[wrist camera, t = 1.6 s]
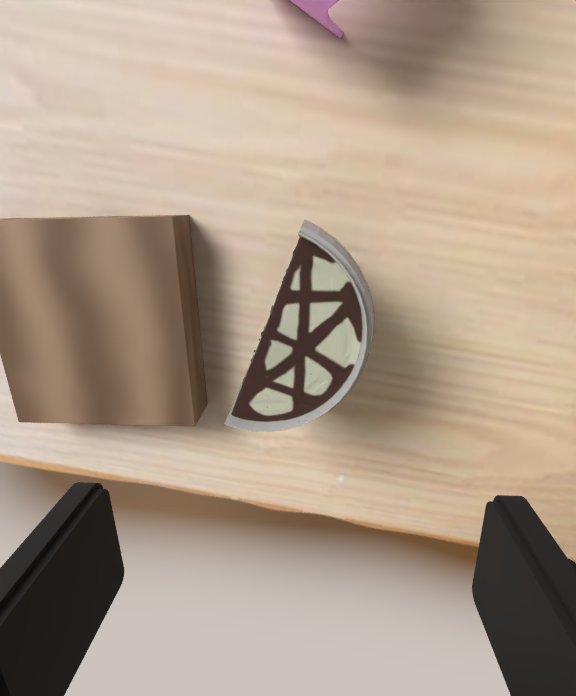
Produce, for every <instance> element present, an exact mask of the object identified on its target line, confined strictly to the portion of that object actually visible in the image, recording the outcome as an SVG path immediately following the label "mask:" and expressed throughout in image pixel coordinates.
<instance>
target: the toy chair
mask: <svg viewBox="0 0 576 696" xmlns="http://www.w3.org/2000/svg"><path fill="white" fill-rule="evenodd" d="M290 1H291V2H292V3H294V4H295V5H296V6H298V7H299V8H300V9H302V10H303V11H304V12H306V13H307V14H308V15H310V16H311V17H312V18H314V19H315V20H316V21H318V22H319V23H320V24H322V25H323V26H324V27H326V28H327V29H328V30H330V31H331V32H332V33H334V34H335V35H336V36H338V37H339V38H341V37H342V35H343V33H344V32H343V31H342V30H341V29H340V28H339V27H338V26H337V25H336V24H335V23H334V22H333V21H332V20H331V19H330V17H329V15H328V9H329V8H330V7H331V6H333V5H334V4H335V3H336V2H337V1H339V0H290Z"/></svg>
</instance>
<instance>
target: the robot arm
mask: <svg viewBox="0 0 576 696" xmlns="http://www.w3.org/2000/svg"><path fill="white" fill-rule="evenodd" d="M123 577H124V566H123V561H122V556H121V551H120V546H119V541H118V536H117V531H116V526H115V521H114V517H113V511H112V506H111V501H110V496H109V492H108V490H106V489H103V486H102V485H101V484H99V483H80V482H78V483H75V484H74V485H73V486H72V487H71V488H70V489H69V490H68V491H67V492H66V494H65V495H64V496H63V497H62V498H61V499H60V500H59V501H58V503H57V504H56V505H55V506H54V507H53V509H52V510H51V511H50V512H49V513H48V514H47V515H46V517H45V518H44V519H43V520H42V521H41V522H40V523H39V525H38V526H37V527H36V528H35V529H34V530H33V531H32V533H31V534H30V535H29V536H28V537H27V538H26V539H25V540H24V542H23V543H22V544H21V545H20V546H19V548H18V549H17V550H16V551H15V552H14V553H13V554H12V556H11V557H10V558H9V559H8V560H7V561H6V562H5V563H4V565H3V566H2V567H1V568H0V696H64V695H65V693H66V690H67V689H68V687H69V685H70V683H71V681H72V679H73V677H74V675H75V673H76V671H77V670H78V668H79V666H80V664H81V662H82V660H83V658H84V656H85V654H86V652H87V650H88V648H89V646H90V644H91V642H92V640H93V639H94V637H95V635H96V633H97V631H98V629H99V627H100V625H101V623H102V621H103V619H104V617H105V615H106V613H107V611H108V610H109V608H110V606H111V604H112V602H113V600H114V598H115V596H116V594H117V592H118V590H119V588H120V586H121V584H122V581H123ZM472 592H473V598H474V602H475V605H476V607H477V610H478V612H479V615H480V618H481V620H482V623H483V625H484V628H485V630H486V633H487V636H488V638H489V641H490V643H491V646H492V648H493V651H494V653H495V656H496V659H497V661H498V664H499V666H500V669H501V671H502V674H503V677H504V679H505V681H506V684H507V687H508V689H509V692H510V694H511V696H576V563H575V562H573V561H572V560H570V559H568V558H567V557H566V556H565V554H564V553H563V551H562V550H561V548H560V547H559V546H558V544H557V543H556V541H555V540H554V538H553V537H552V536H551V534H550V533H549V531H548V530H547V528H546V527H545V526H544V524H543V523H542V521H541V520H540V518H539V517H538V516H537V514H536V513H535V511H534V510H533V508H532V507H531V506H530V504H529V503H528V501H527V500H526V499H525V498H524V497H522V496H502V495H498V496H496V497H495V498H494V501H493V502H488V503H487V505H486V509H485V515H484V521H483V527H482V532H481V538H480V544H479V550H478V556H477V561H476V567H475V573H474V579H473V585H472Z"/></svg>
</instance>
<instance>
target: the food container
mask: <svg viewBox="0 0 576 696" xmlns="http://www.w3.org/2000/svg"><path fill="white" fill-rule="evenodd" d="M298 235H299V237H300V238H299V240H298V244H297V246H296V248H295V250H294V252H293V256H292V259H291V262H290V264H289V267H288V269H287V270H286V274H285V276H284V278H283V281H282V284H281V287H280V290H279V293H278V295H277V298H276V300H275V303H274V305H273V306H272V309H271V311H270V316H269V318H268V321H267V323H266V325H265V327H264V330H263V332H262V333H261V338H260V339H259V343H258V346H257V349H256V350H255V351H254V352H255V354H254V355H253V358H252V359H251V363H250V366H249V368H248V370H247V373H246V375H245V377H244V379H243V382H242V384H241V386H240V389H239V391H238V393H237V396H236V398H235V400H234V403H233V405H232V407H231V410H230V412H229V414H228V416H227V419H226V421H225V423H224V425H227V426H230V427H233V428H237V429H241V430H247V431H254V432H272V431H281V430H287V429H291V428H294V427H298V426H301V425H303V424H306V423H308V422H310V421H313V420H315V419H316V418H318V417H320V416H321V415H323V414H324V413H326V412H327V411H329V410H330V409H332V408H333V407H334V406H335V405H336V404H338V403H339V402H340V401H341V400H342V399H343V398H344V397H345V396H346V395H347V393H348V392H349V391H350V390H351V389H352V388H353V386H354V384H355V383H356V381H357V379H358V378H359V376H360V375H361V372H362V370H363V367H364V365H365V362H366V360H367V357H368V354H369V351H370V347H371V342H372V338H373V329H374V313H373V305H372V299H371V295H370V292H369V288H368V285H367V282H366V280H365V278H364V276H363V274H362V272H361V270H360V268H359V266H358V265H357V263H356V262H355V261H354V259H353V258H352V256H351V255H350V253H349V252H348V251H347V250H346V249H345V248H344V247H343V246H342V245H341V244H340V243H339V242H338V241H337V240H336V239H335V238H334V237H332V236H331V235H330V234H328V233H327V232H326V231H324V230H323V229H322V228H320V227H318V226H316V225H315V224H313V223H311V222H309V221H307V220H304V222H303V224H302V226H301V229H300V231H299V233H298Z"/></svg>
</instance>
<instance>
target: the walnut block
mask: <svg viewBox="0 0 576 696" xmlns="http://www.w3.org/2000/svg"><path fill="white" fill-rule="evenodd" d="M0 354H1V358H2V362H3V365H4V369H5V373H6V376H7V380H8V384H9V387H10V391H11V395H12V399H13V402H14V406H15V410H16V413H17V417H18V421H19V422H34V423H78V424H123V425H167V426H195V425H196V423H197V421H198V420H199V418H200V416H201V414H202V413H203V411H204V409H205V407H206V406H207V397H206V386H205V376H204V365H203V355H202V345H201V334H200V324H199V314H198V303H197V293H196V283H195V272H194V262H193V252H192V241H191V231H190V221H189V215H162V216H112V217H61V218H10V219H0Z"/></svg>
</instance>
